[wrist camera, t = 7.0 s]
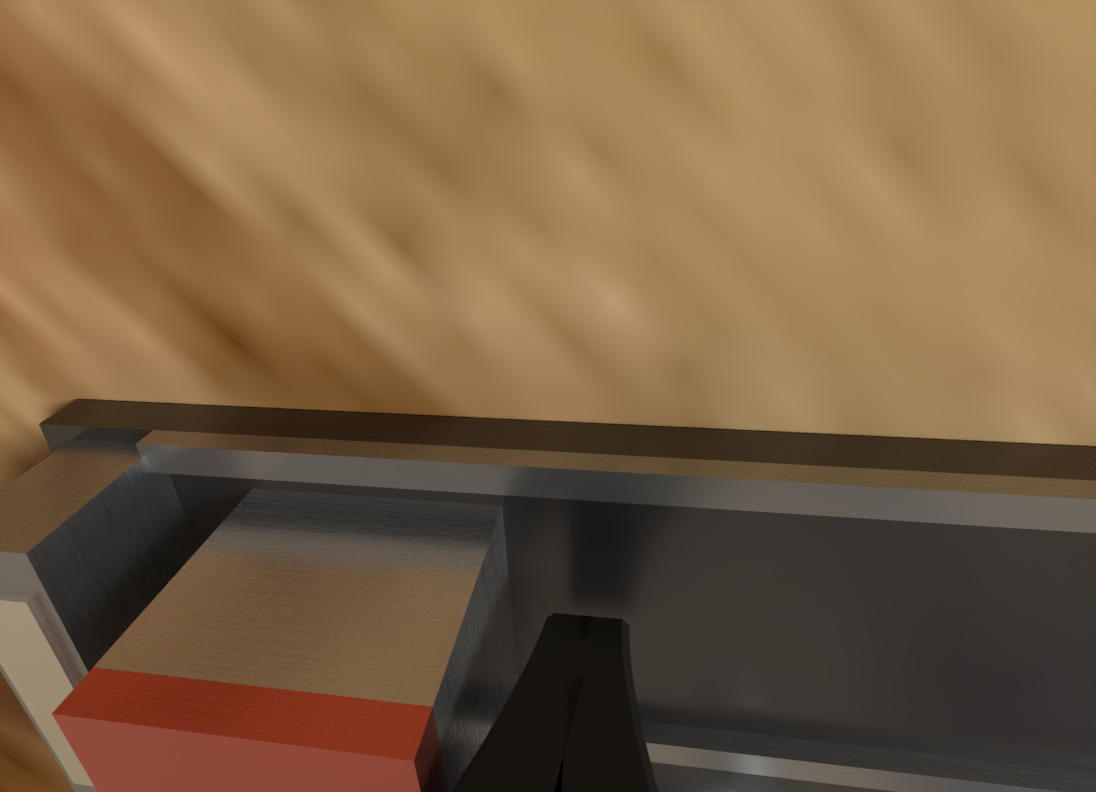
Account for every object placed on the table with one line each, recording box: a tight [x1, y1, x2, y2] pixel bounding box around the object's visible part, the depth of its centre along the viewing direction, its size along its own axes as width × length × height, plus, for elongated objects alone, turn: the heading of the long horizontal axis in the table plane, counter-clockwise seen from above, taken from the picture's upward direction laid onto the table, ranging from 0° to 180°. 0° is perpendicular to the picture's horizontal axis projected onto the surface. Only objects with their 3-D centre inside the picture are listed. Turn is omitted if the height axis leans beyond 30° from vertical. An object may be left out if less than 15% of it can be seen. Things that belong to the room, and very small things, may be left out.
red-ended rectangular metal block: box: [52, 488, 518, 792], centre depth 10 cm, size 4×4×4 cm
